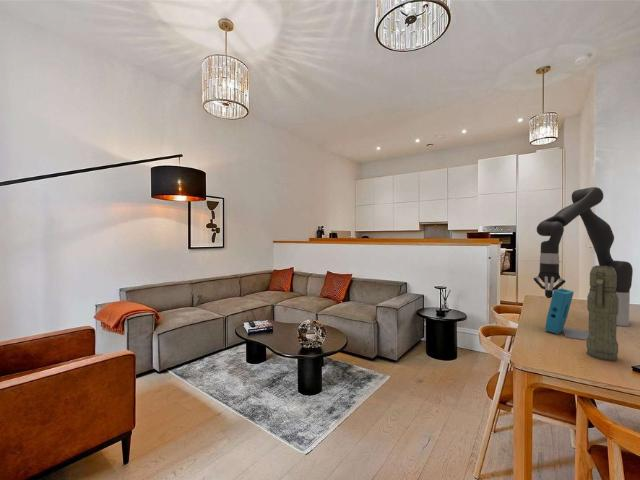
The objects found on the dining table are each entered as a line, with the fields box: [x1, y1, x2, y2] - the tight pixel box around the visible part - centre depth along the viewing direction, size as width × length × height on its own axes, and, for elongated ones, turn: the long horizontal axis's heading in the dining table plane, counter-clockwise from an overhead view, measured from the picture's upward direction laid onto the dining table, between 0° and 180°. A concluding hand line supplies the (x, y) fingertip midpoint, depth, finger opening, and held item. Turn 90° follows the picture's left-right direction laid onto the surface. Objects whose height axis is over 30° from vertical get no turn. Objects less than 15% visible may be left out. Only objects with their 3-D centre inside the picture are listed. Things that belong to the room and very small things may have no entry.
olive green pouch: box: [586, 265, 619, 362], centre depth 114 cm, size 9×12×35 cm
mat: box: [562, 327, 589, 342], centre depth 138 cm, size 16×16×1 cm
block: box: [544, 288, 575, 335], centre depth 142 cm, size 12×5×20 cm, turn 126°
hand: (548, 297), depth 145 cm, fingers closed
